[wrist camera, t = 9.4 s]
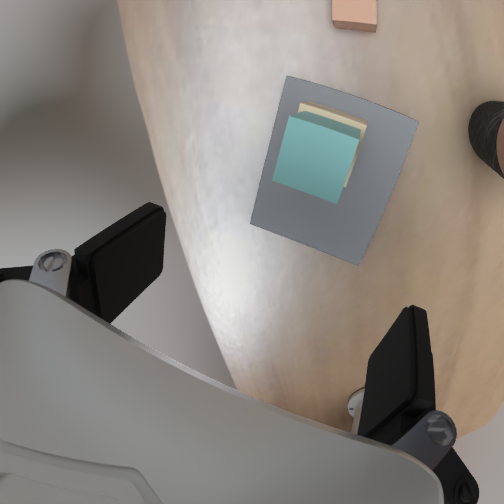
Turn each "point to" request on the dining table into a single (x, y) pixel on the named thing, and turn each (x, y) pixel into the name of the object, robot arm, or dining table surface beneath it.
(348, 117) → the beech block
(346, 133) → the teal block
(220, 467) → the robot arm
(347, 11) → the terracotta block
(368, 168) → the build board
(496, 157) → the travel mug
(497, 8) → the dining table surface
